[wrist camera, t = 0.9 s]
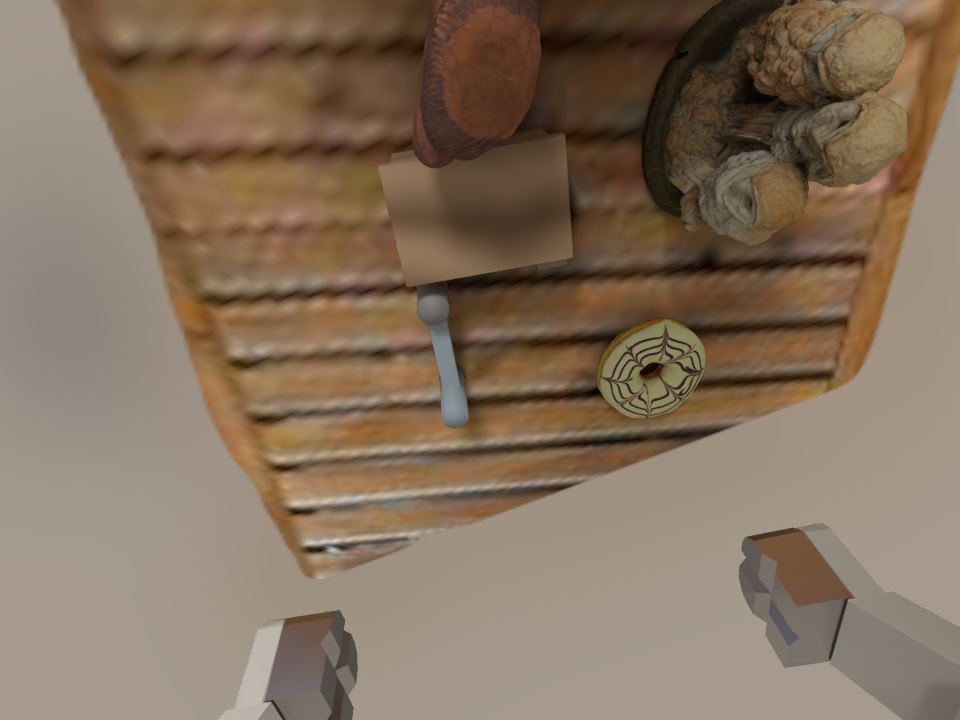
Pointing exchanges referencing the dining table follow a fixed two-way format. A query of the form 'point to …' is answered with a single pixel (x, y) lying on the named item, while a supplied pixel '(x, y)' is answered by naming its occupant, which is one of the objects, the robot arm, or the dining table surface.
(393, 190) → the tan boxy piece
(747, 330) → the dining table surface
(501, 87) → the wooden figurine
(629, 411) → the decorated donut
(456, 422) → the lever handle with knob
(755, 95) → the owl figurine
